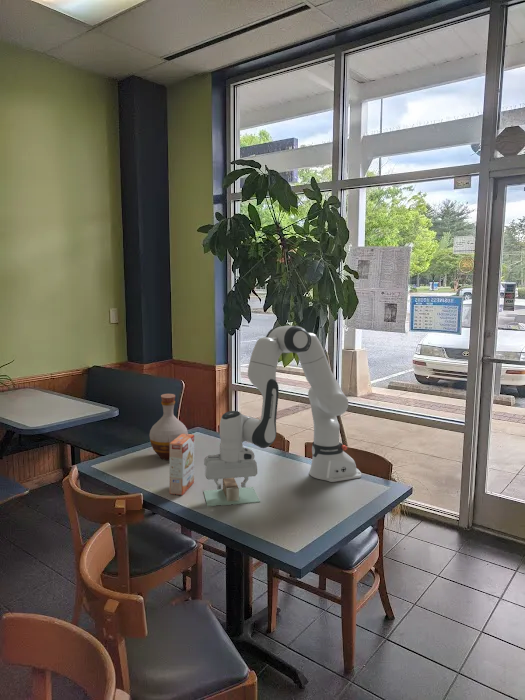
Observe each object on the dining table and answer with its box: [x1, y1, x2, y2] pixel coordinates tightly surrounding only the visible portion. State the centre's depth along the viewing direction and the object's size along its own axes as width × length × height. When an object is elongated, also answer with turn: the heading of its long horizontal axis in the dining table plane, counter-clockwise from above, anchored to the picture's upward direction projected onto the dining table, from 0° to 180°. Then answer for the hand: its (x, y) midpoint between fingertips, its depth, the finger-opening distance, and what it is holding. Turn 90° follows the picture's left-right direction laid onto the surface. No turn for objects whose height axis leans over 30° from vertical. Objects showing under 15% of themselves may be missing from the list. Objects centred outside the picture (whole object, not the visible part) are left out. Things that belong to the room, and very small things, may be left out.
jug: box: [149, 393, 189, 461], centre depth 248 cm, size 20×18×30 cm
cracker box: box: [169, 433, 195, 496], centre depth 210 cm, size 14×6×21 cm, turn 168°
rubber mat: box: [203, 486, 261, 507], centre depth 204 cm, size 20×14×1 cm
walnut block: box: [222, 478, 240, 501], centre depth 205 cm, size 4×4×12 cm
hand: (231, 488), depth 203 cm, fingers open, 8 cm apart
